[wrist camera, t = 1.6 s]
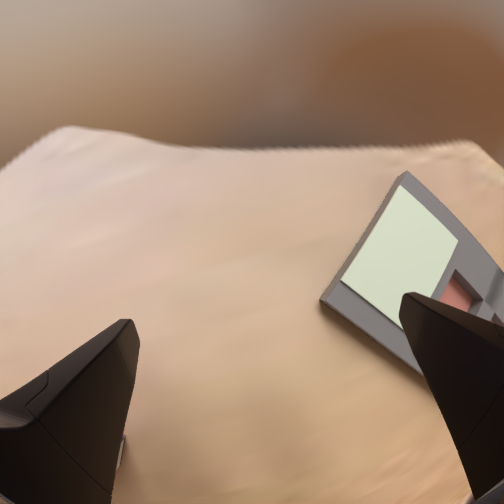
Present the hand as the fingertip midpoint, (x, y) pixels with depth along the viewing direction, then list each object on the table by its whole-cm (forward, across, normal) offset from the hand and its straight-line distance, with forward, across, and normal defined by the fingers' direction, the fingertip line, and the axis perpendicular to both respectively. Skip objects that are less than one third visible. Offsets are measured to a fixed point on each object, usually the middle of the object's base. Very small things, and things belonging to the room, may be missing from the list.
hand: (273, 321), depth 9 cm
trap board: (+11, -22, +13) cm, 27 cm away
